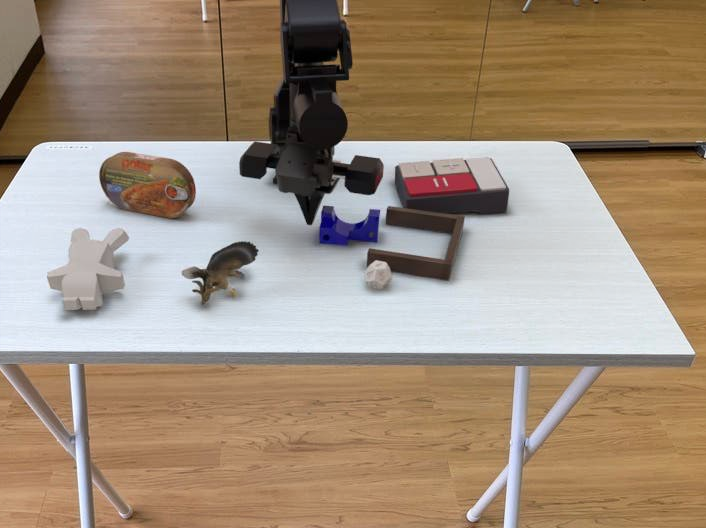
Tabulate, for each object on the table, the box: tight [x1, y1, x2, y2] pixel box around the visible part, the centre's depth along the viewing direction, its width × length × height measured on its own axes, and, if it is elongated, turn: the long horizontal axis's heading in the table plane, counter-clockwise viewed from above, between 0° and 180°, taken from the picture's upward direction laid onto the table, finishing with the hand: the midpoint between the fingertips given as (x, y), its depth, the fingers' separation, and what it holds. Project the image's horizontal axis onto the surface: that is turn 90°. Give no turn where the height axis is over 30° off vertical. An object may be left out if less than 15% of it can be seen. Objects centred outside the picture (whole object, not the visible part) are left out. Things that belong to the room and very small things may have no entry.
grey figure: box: [46, 227, 130, 311], centre depth 100 cm, size 10×5×15 cm
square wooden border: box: [366, 205, 466, 282], centre depth 106 cm, size 11×13×2 cm
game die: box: [363, 260, 393, 290], centre depth 100 cm, size 4×4×3 cm
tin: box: [98, 151, 197, 219], centre depth 114 cm, size 15×3×8 cm, turn 68°
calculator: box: [394, 156, 510, 215], centre depth 117 cm, size 11×4×15 cm
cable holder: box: [318, 205, 381, 247], centre depth 108 cm, size 8×4×4 cm, turn 80°
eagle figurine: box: [180, 240, 260, 306], centre depth 98 cm, size 8×7×9 cm
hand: (310, 223), depth 110 cm, fingers closed
